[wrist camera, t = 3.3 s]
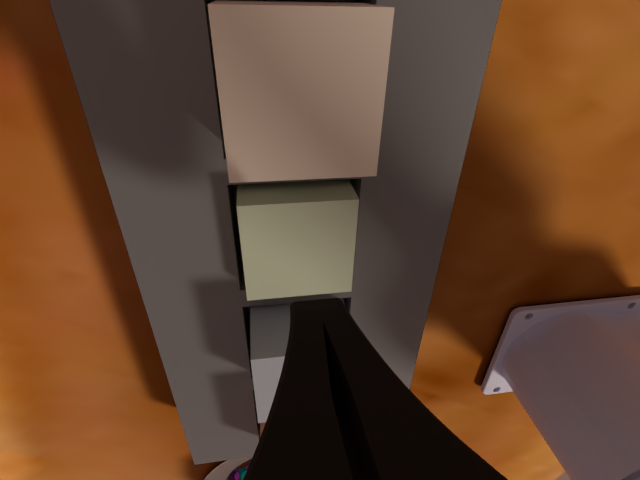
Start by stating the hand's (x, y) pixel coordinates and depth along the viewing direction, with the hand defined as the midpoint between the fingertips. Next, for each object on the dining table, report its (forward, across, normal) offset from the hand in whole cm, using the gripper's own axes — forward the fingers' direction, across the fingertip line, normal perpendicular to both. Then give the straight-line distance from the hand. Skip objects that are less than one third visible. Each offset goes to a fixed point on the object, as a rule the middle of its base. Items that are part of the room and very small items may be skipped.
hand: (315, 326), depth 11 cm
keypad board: (+8, 0, +3) cm, 8 cm away
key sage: (+7, 0, 0) cm, 7 cm away
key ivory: (+5, 0, -6) cm, 8 cm away
